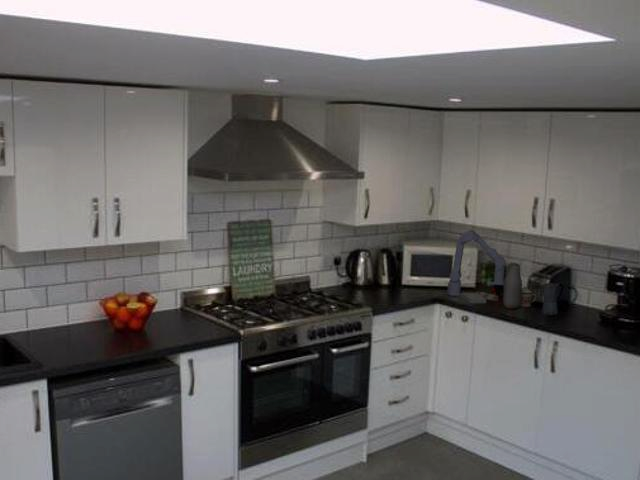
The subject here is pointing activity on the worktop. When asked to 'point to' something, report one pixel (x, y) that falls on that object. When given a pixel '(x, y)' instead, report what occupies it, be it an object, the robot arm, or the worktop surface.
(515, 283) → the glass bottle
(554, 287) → the moka pot
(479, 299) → the seat panel
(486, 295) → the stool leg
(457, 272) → the robot arm
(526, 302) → the teacup with lid
